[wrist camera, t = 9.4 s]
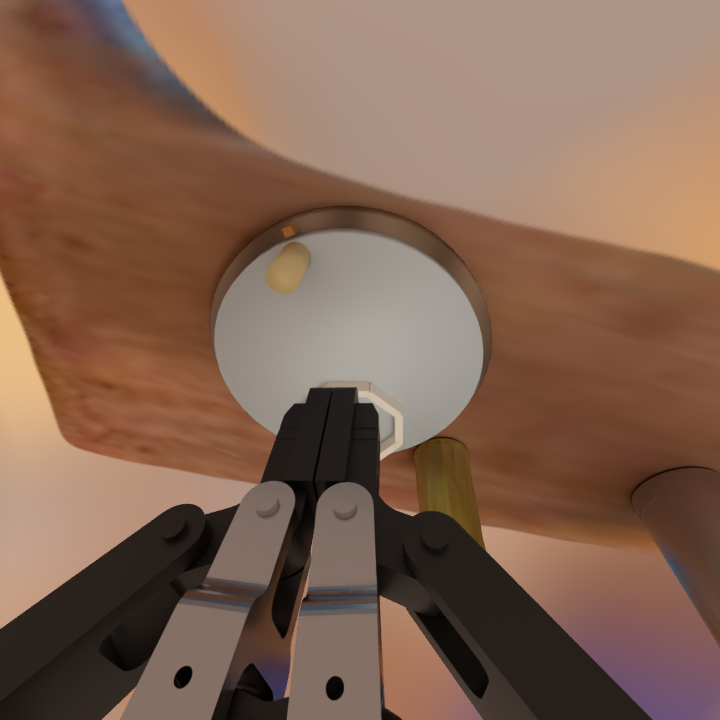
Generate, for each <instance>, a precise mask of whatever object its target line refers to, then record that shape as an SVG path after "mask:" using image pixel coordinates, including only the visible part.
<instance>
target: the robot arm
mask: <svg viewBox="0 0 720 720" xmlns="http://www.w3.org/2000/svg"><path fill="white" fill-rule="evenodd" d="M379 478H380V429H379V414H378V412H377V410H376V408H375V407H374V405H373V403H359V400H358V390H357V387H334V388H333V387H318V388H310V390H309V393H308V396H307V400H306V403H294V404H293V406H292V407H291V408H290V409H289V410H288V411H287V412H286V413H285V414H284V417H283V419H282V422H281V425H280V430H279V431H278V434H277V437H276V441H275V442H274V445H273V448H272V451H271V454H270V457H269V460H268V463H267V465H266V468H265V471H264V474H263V477H262V480H261V482H260V484H259V485H257V486H255V487H254V488H252V489H251V490H250V491H249V492H248V493H247V494H246V495H245V496H244V498H243V499H242V501H241V503H240V504H238V505H236V506H233V507H230V508H227V509H223V510H219V511H216V512H213V513H209V514H204V512H203V511H202V509H201V508H200V507H198V506H196V505H193V504H181V505H177V506H175V507H172V508H170V509H168V510H166V511H165V512H163V513H162V514H160V515H159V516H157V517H156V518H155V519H153V520H152V521H151V522H149V523H148V524H147V525H145V526H143V527H142V528H141V529H139V530H138V531H137V532H135V533H134V534H132V535H131V536H130V537H128V538H127V539H125V540H124V541H123V542H121V543H120V544H119V545H117V546H116V547H114V548H113V549H111V550H110V551H109V552H107V553H106V554H104V555H103V556H102V557H100V558H99V559H98V560H96V561H95V562H93V563H92V564H90V565H89V566H88V567H86V568H85V569H84V570H82V571H81V572H79V573H78V574H77V575H75V576H74V577H72V578H71V579H70V580H68V581H67V582H65V583H64V584H63V585H62V586H60V587H58V588H57V589H56V590H54V591H53V592H51V593H50V594H49V595H48V596H46V597H44V598H43V599H42V600H40V601H39V602H38V603H36V604H35V605H33V606H32V607H31V608H29V609H28V610H26V611H25V612H24V613H22V614H21V615H19V616H18V617H17V618H15V619H14V620H13V621H11V622H10V623H8V624H7V625H6V626H4V627H3V628H1V629H0V720H102V719H103V718H104V717H105V716H106V715H107V714H108V713H109V712H110V711H111V710H112V709H113V708H114V707H115V706H116V705H117V704H118V703H119V702H120V701H121V700H122V699H123V698H125V697H126V696H127V695H128V694H129V693H130V692H131V691H132V689H134V688H135V687H136V688H135V690H134V693H133V694H132V696H131V698H130V700H129V702H128V705H127V706H126V709H125V711H124V713H123V715H122V717H121V719H120V720H402V719H401V718H400V717H398V716H397V715H395V714H394V713H392V712H391V711H389V710H388V709H386V708H385V697H384V676H383V657H382V639H381V620H380V619H381V617H380V596H383V597H385V598H387V599H389V600H391V601H393V602H396V603H398V604H400V605H402V606H404V607H406V609H407V611H408V612H409V614H410V615H411V617H412V618H413V620H414V621H415V623H416V624H417V625H418V627H419V628H420V630H421V631H422V632H423V634H424V635H425V637H426V638H427V640H428V641H429V643H430V644H431V645H432V647H433V648H434V650H435V651H436V652H437V654H438V655H439V657H440V658H441V660H442V661H443V663H444V664H445V665H446V667H447V668H448V670H449V671H450V673H451V674H452V675H453V677H454V678H455V680H456V681H457V683H458V684H459V685H460V687H461V688H462V689H463V691H464V692H465V694H466V695H467V697H468V698H469V700H470V701H471V702H472V704H473V705H474V707H475V708H476V710H477V711H478V713H479V714H480V716H481V717H482V718H483V720H652V719H651V718H650V717H649V716H648V715H647V714H646V713H645V712H644V711H643V710H642V709H641V708H640V707H639V706H638V705H637V704H636V703H635V702H634V701H633V700H632V699H631V698H630V696H629V695H627V693H626V692H625V691H624V690H623V689H622V688H621V687H620V686H619V685H618V684H617V683H616V682H615V681H614V680H613V679H612V678H611V677H610V676H609V675H608V674H607V673H606V672H605V671H604V670H603V669H602V668H601V667H600V666H599V665H598V664H597V663H596V662H595V661H594V660H593V659H592V658H591V657H590V656H589V655H588V654H587V653H586V652H585V651H584V650H583V649H582V648H581V647H580V646H579V645H578V644H577V643H576V642H575V641H574V640H573V639H572V638H571V637H570V636H569V635H568V634H567V633H566V632H565V631H564V630H563V629H562V628H561V627H560V626H559V625H558V624H557V623H556V622H555V621H554V620H553V619H552V618H551V617H550V616H549V615H548V614H547V612H546V611H544V609H543V608H542V607H541V606H539V604H538V603H536V601H534V599H533V598H532V597H531V596H530V595H529V594H528V593H527V592H526V591H525V590H524V589H523V588H522V587H521V586H520V585H519V584H518V583H517V582H516V581H515V580H514V579H513V578H512V577H511V576H510V575H509V574H508V573H507V572H506V571H505V570H504V569H503V568H502V567H501V566H500V565H499V564H498V563H497V562H496V561H495V560H494V559H493V558H492V557H491V556H490V555H489V554H488V553H487V552H486V551H485V550H484V549H483V548H482V547H481V546H480V545H479V544H478V543H477V542H476V541H475V540H474V539H473V538H472V537H471V536H470V535H469V534H468V533H467V532H466V531H465V530H464V528H463V527H462V526H461V525H460V524H459V523H458V522H457V521H455V520H454V519H453V518H452V517H450V516H449V515H446V514H444V513H441V512H438V511H424V512H421V513H418V514H416V515H415V516H410V515H407V514H404V513H401V512H399V511H396V510H394V509H392V508H391V507H389V506H388V505H387V504H386V503H385V502H384V501H383V500H382V499H381V497H380V496H379ZM632 505H633V507H634V509H635V510H636V512H637V514H638V515H639V517H640V519H641V520H642V522H643V523H644V525H645V527H646V528H647V530H648V532H649V533H650V535H651V537H652V538H653V540H654V542H655V543H656V545H657V547H658V548H659V550H660V552H661V553H662V555H663V556H664V558H665V560H666V561H667V563H668V564H669V566H670V568H671V569H672V571H673V573H674V574H675V576H676V578H677V579H678V581H679V583H680V584H681V586H682V587H683V589H684V591H685V592H686V594H687V596H688V597H689V599H690V601H691V602H692V604H693V605H694V607H695V608H696V610H697V612H698V613H699V615H700V617H701V618H702V620H703V621H704V623H705V625H706V627H707V628H708V630H709V631H710V633H711V635H712V636H713V638H714V640H715V641H716V643H717V645H718V646H719V648H720V474H718V473H717V472H715V471H712V470H709V469H704V468H684V469H677V470H672V471H668V472H665V473H662V474H659V475H657V476H655V477H653V478H651V479H649V480H648V481H646V482H644V483H643V484H642V485H641V486H639V487H638V488H637V489H636V491H635V492H634V493H633V496H632ZM313 534H314V537H313ZM312 539H313V547H312V556H311V545H312ZM310 564H311V566H310ZM309 568H310V575H309V585H308V591H307V595H306V597H305V598H304V599H303V601H302V604H301V600H302V596H303V592H304V587H305V583H306V580H307V576H308V572H309ZM300 604H301V608H300ZM299 608H300V613H299V619H298V627H297V637H296V644H295V653H294V662H293V671H292V679H291V687H290V696H289V697H286V698H284V695H285V690H286V687H287V682H288V677H289V671H290V660H291V641H292V636H293V632H294V628H295V624H296V620H297V616H298V612H299Z"/></svg>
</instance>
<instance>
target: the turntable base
mask: <svg viewBox="0 0 720 720" xmlns="http://www.w3.org/2000/svg"><path fill="white" fill-rule="evenodd" d="M332 228H355V229H362V230H369V231H375V232H379V233H382V234H386V235H389V236H393V237H396V238H398V239H400V240H403V241H405V242H407V243H410V244H412V245H414V246H416V247H417V248H419V249H421V250H422V251H424V252H425V253H427V254H429V255H430V256H432V257H433V258H434V259H435V260H436V261H438V262H439V263H440V264H441V265H442V266H444V267H445V268H446V269H447V270H448V271H449V273H450V274H451V275H452V276H453V277H454V278H455V279H456V280H457V282H458V283H459V284H460V286H461V288H462V289H463V291H464V292H465V294H466V295H467V297H468V299H469V301H470V304H471V306H472V308H473V310H474V313H475V315H476V317H477V320H478V323H479V327H480V331H481V334H482V341H483V366H482V371H481V375H480V379H479V382H478V385H477V387H476V389H475V392H474V394H473V396H472V398H473V397H474V395H475V393H476V392H477V390H478V389H479V387H480V385H481V383H482V381H483V378H484V376H485V374H486V371H487V368H488V364H489V360H490V356H491V345H492V333H491V322H490V318H489V314H488V309H487V306H486V303H485V301H484V299H483V296H482V294H481V291H480V289H479V287H478V285H477V283H476V281H475V279H474V277H473V276H472V274H471V273H470V271H469V269H468V268H467V266H466V265H465V263H464V262H463V261H462V260H461V258H460V257H459V256H458V255H457V254H456V253H455V251H454V250H453V249H452V248H451V247H450V246H448V245H447V244H446V243H445V242H444V241H443V240H442V239H440V238H439V237H438V236H437V235H435V234H434V233H432V232H431V231H429V230H428V229H426V228H424V227H423V226H421V225H420V224H417V223H415V222H413V221H411V220H409V219H407V218H404V217H402V216H400V215H396V214H393V213H390V212H386V211H383V210H379V209H373V208H366V207H360V206H333V207H325V208H318V209H313V210H309V211H306V212H302V213H299V214H295V215H293V216H291V217H289V218H286V219H284V220H282V221H280V222H278V223H276V224H274V225H273V226H271V227H270V228H268V229H267V230H265V231H264V232H262V233H261V234H260V235H258V236H257V237H256V238H255V239H254V240H253V241H252V242H251V243H250V244H248V245H247V246H246V247H245V248H244V249H243V250H242V251H241V252H240V253H239V254H238V255H237V257H236V258H235V259H234V260H233V262H232V263H231V264H230V265H229V267H228V268H227V270H226V271H225V273H224V275H223V277H222V278H221V280H220V282H219V284H218V287H217V290H216V293H215V295H214V298H213V303H212V308H211V314H210V334H211V341H212V347H213V351H214V354H215V358H216V352H215V344H214V337H215V324H216V319H217V314H218V311H219V309H220V306H221V303H222V301H223V298H224V297H225V295H226V293H227V291H228V290H229V288H230V286H231V285H232V284H233V282H234V281H235V280H236V279H237V278H238V276H239V275H240V274H241V273H242V272H243V270H244V269H245V268H246V267H247V266H248V265H249V264H250V263H251V262H252V261H253V260H255V259H256V258H257V257H258V256H259V255H260V254H262V253H263V252H265V251H266V250H268V249H269V248H271V247H273V246H274V245H276V244H277V243H280V242H282V241H284V240H287V239H289V238H291V237H294V236H296V235H300V234H304V233H307V232H311V231H316V230H324V229H332ZM216 361H217V358H216ZM217 363H218V362H217ZM472 398H471V399H472ZM471 399H470V401H471ZM470 401H469V402H470Z"/></svg>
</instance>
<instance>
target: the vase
mask: <svg viewBox="0 0 720 720" xmlns="http://www.w3.org/2000/svg"><path fill="white" fill-rule="evenodd" d="M413 459H414V462H415V466H416V481H417V490H418V499H419V507H420V513H421V512H424V511H438V512H441V513H444V514H446V515H449V516H450V517H452V518H453V519H454V520H455V521H457V522H458V523H459V524H460V525H461V526H462V527H463V528H464V530H465V531H466V532H467V533H468V534H469V535H470V536H471V537H472V538H473V539H474V540H475V541H476V542H477V543H478V544H479V545H480V546H481V547H482V548H483V549H484V550H485V551H486V549H485V545H484V542H483V537H482V531H481V525H480V519H479V513H478V508H477V503H476V497H475V493H474V488H473V483H472V478H471V472H470V466H469V453H468V450H467V449H466V447H465V446H464V445H463V444H462V443H460V442H458V441H456V440H453V439H449V438H435V439H431V440H428V441H426V442H424V443H422V444H421V445H420V446H418V448H417V449H416V450H415V453H414V457H413Z"/></svg>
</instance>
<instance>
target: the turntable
mask: <svg viewBox="0 0 720 720" xmlns="http://www.w3.org/2000/svg"><path fill="white" fill-rule="evenodd" d="M214 344H215V352H216V358H217V362H218V365H219V369H220V372H221V374H222V376H223V379H224V381H225V383H226V385H227V387H228V388H229V390H230V392H231V393H232V395H233V396H234V398H235V399H236V400H237V402H238V403H239V404H240V405H241V407H242V408H243V409H244V410H245V411H246V412H247V413H248V414H249V415H250V416H251V417H252V418H253V419H255V420H256V421H257V422H258V423H260V424H261V425H262V426H263V427H265V428H266V429H268V430H269V431H271V432H272V433H274V434H275V435H277V434H278V431H279V430H280V425H281V422H282V419H283V417H284V414H285V413H286V412H287V411H288V410H289V409H290V408H291V407H292V406H293V404H294V403H306V400H307V396H308V393H309V390H310V388H318V387H333V388H334V387H357V390H358V400H359V403H373V405H374V407H375V408H376V410H377V412H378V414H379V429H380V460H382V459H383V458H385V457H386V456H387V455H389V454H390V453H393V452H398V451H401V450H404V449H407V448H410V447H413V446H415V445H418V444H420V443H422V442H424V441H426V440H428V439H430V438H431V437H433V436H435V435H437V434H438V433H439V432H441V431H442V430H443V429H445V428H446V427H447V426H448V425H450V424H451V423H452V422H453V421H454V420H455V419H456V418H457V417H458V416H459V415H460V413H461V412H462V411H463V410H464V408H465V407H466V406H467V404H468V403H469V401H470V399H471V398H472V396H473V394H474V392H475V389H476V387H477V385H478V382H479V379H480V375H481V371H482V366H483V341H482V334H481V331H480V327H479V323H478V320H477V317H476V315H475V313H474V310H473V308H472V306H471V304H470V301H469V299H468V297H467V295H466V294H465V292H464V291H463V289H462V288H461V286H460V284H459V283H458V282H457V280H456V279H455V278H454V277H453V276H452V275H451V274H450V273H449V271H448V270H447V269H446V268H445V267H444V266H442V265H441V264H440V263H439V262H438V261H436V260H435V259H434V258H433V257H432V256H430V255H429V254H427V253H425V252H424V251H422V250H421V249H419V248H417V247H416V246H414V245H412V244H410V243H407V242H405V241H403V240H400V239H398V238H396V237H393V236H389V235H386V234H382V233H379V232H375V231H369V230H362V229H355V228H332V229H324V230H316V231H311V232H307V233H304V234H300V235H296V236H294V237H291V238H289V239H287V240H284V241H282V242H280V243H277V244H276V245H274V246H273V247H271V248H269V249H268V250H266V251H265V252H263V253H262V254H260V255H259V256H258V257H257V258H256V259H255V260H253V261H252V262H251V263H250V264H249V265H248V266H247V267H246V268H245V269H244V270H243V272H242V273H241V274H240V275H239V276H238V278H237V279H236V280H235V281H234V282H233V284H232V285H231V286H230V288H229V290H228V291H227V293H226V295H225V297H224V298H223V301H222V303H221V306H220V309H219V311H218V314H217V319H216V324H215V337H214Z"/></svg>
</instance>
